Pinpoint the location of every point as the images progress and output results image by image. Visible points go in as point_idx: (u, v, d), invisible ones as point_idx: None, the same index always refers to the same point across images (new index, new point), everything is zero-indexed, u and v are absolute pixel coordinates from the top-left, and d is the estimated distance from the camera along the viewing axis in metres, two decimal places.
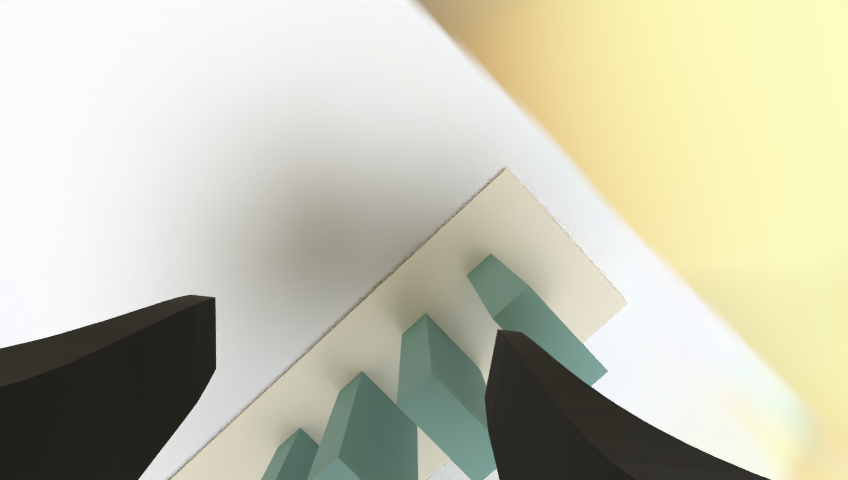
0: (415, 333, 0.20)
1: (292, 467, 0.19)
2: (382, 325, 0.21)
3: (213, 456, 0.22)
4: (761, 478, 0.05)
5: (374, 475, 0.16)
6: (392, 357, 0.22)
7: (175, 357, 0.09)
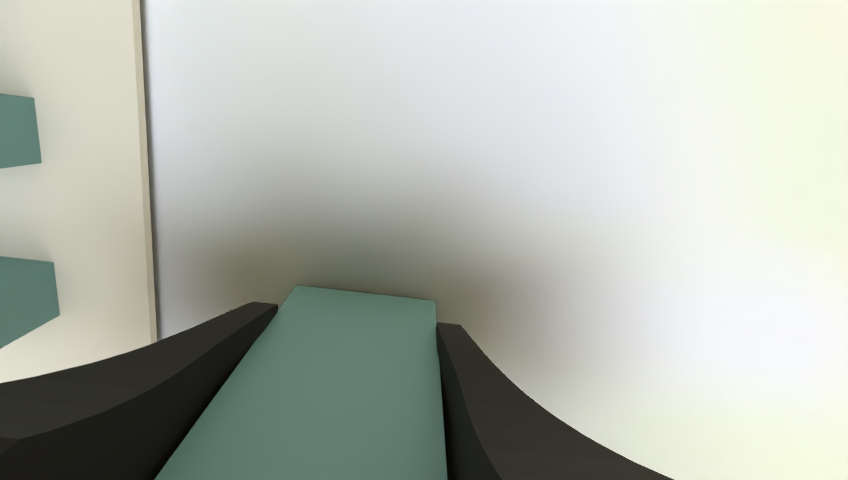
0: None
1: None
2: None
3: None
4: (635, 466, 0.05)
5: None
6: None
7: None
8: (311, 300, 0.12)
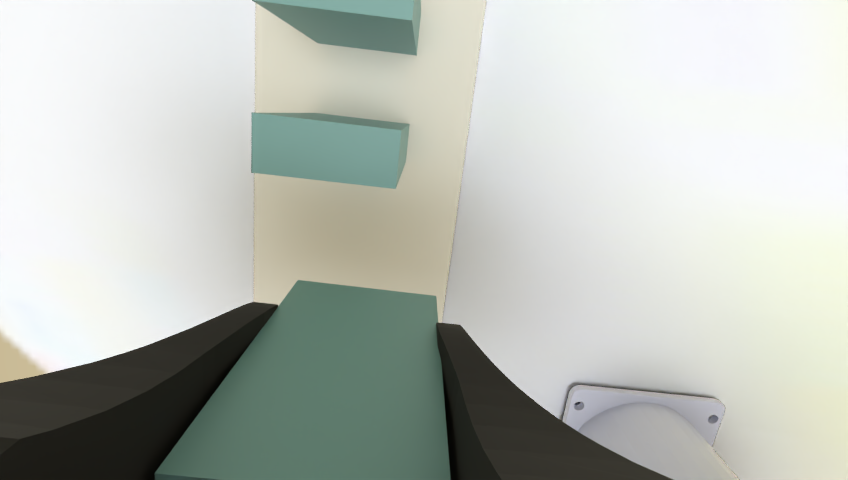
0: None
1: (310, 114, 0.16)
2: None
3: (267, 205, 0.19)
4: (635, 466, 0.05)
5: None
6: None
7: None
8: (313, 295, 0.12)
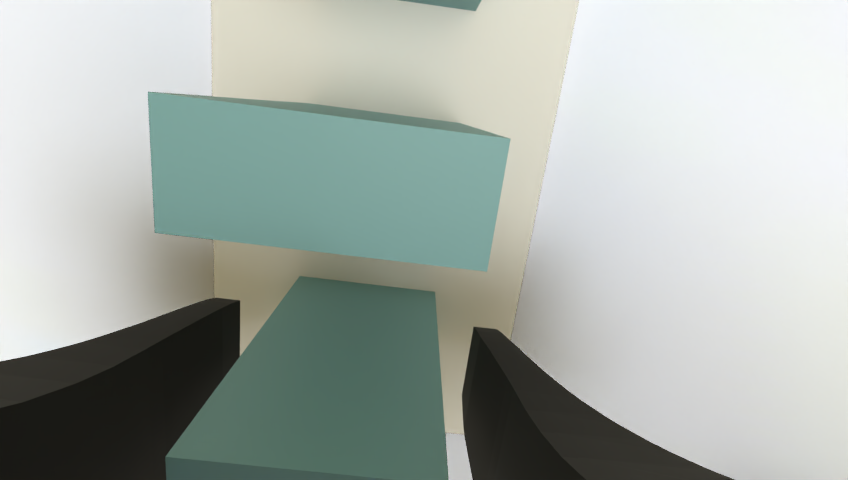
0: None
1: None
2: None
3: (234, 246, 0.13)
4: (712, 474, 0.05)
5: None
6: None
7: (204, 360, 0.09)
8: (314, 290, 0.12)
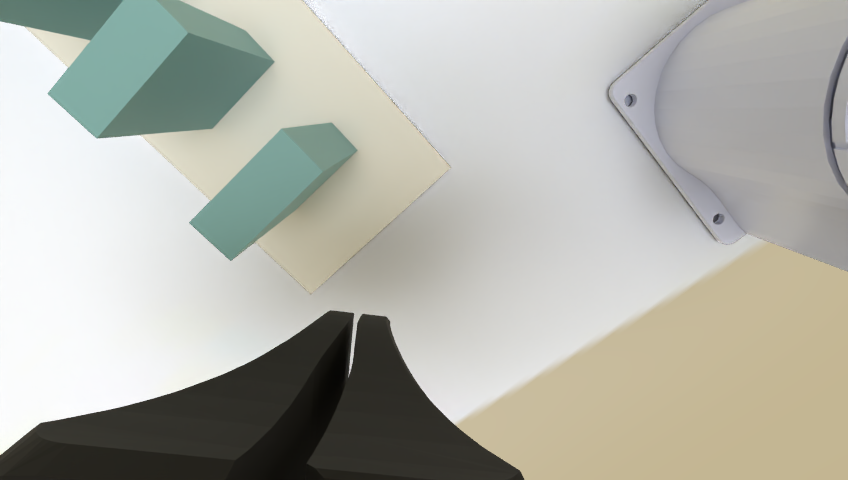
0: None
1: None
2: None
3: None
4: (479, 450, 0.05)
5: None
6: None
7: (336, 374, 0.09)
8: None
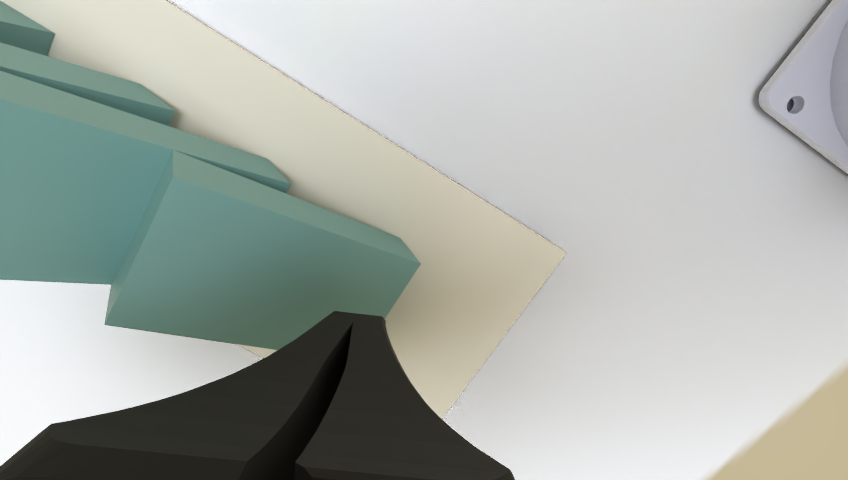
0: None
1: None
2: None
3: None
4: (470, 449, 0.05)
5: None
6: None
7: (341, 375, 0.09)
8: None
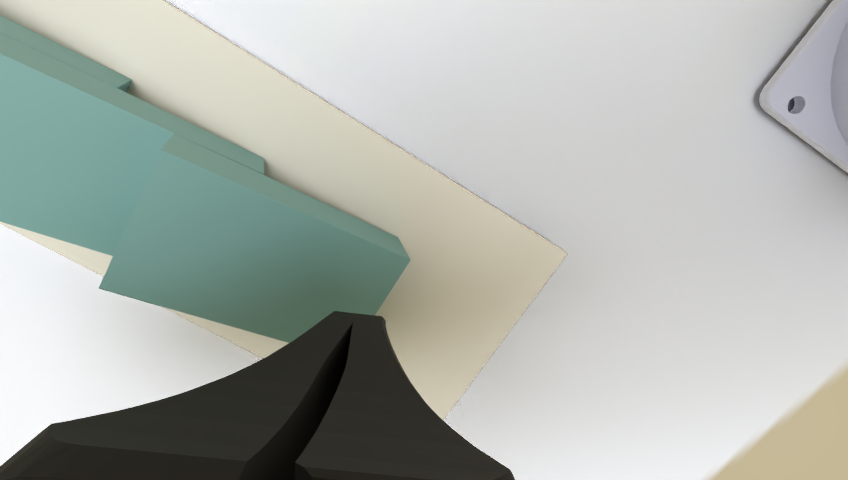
0: None
1: None
2: None
3: None
4: (471, 449, 0.05)
5: None
6: None
7: (341, 375, 0.09)
8: None
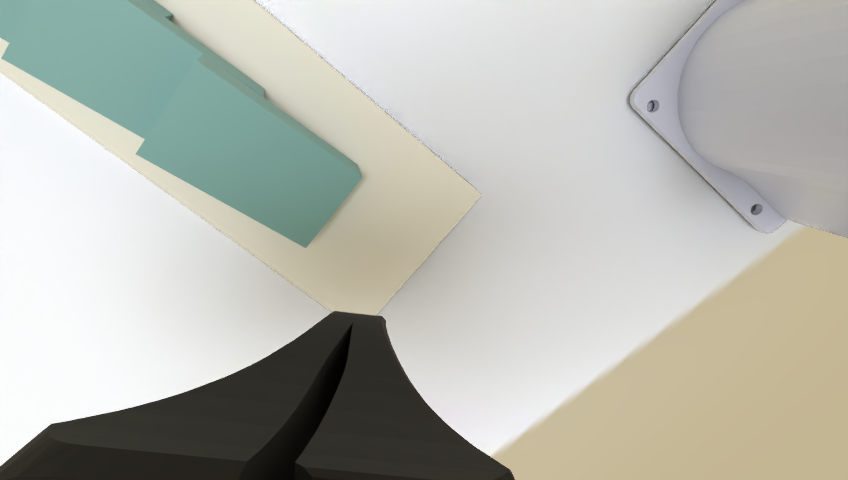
0: None
1: None
2: None
3: (273, 255, 0.21)
4: (471, 449, 0.05)
5: None
6: None
7: (341, 375, 0.09)
8: None
